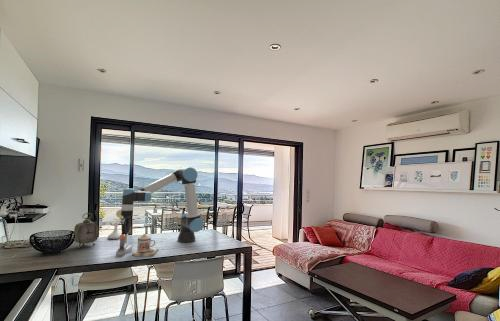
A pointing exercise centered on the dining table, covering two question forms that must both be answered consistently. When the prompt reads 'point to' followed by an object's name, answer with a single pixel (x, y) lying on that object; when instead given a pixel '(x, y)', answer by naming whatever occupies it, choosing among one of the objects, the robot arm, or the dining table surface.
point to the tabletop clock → (86, 231)
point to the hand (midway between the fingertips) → (124, 243)
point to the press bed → (149, 253)
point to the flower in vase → (115, 233)
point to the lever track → (122, 253)
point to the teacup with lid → (144, 243)
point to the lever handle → (122, 242)
